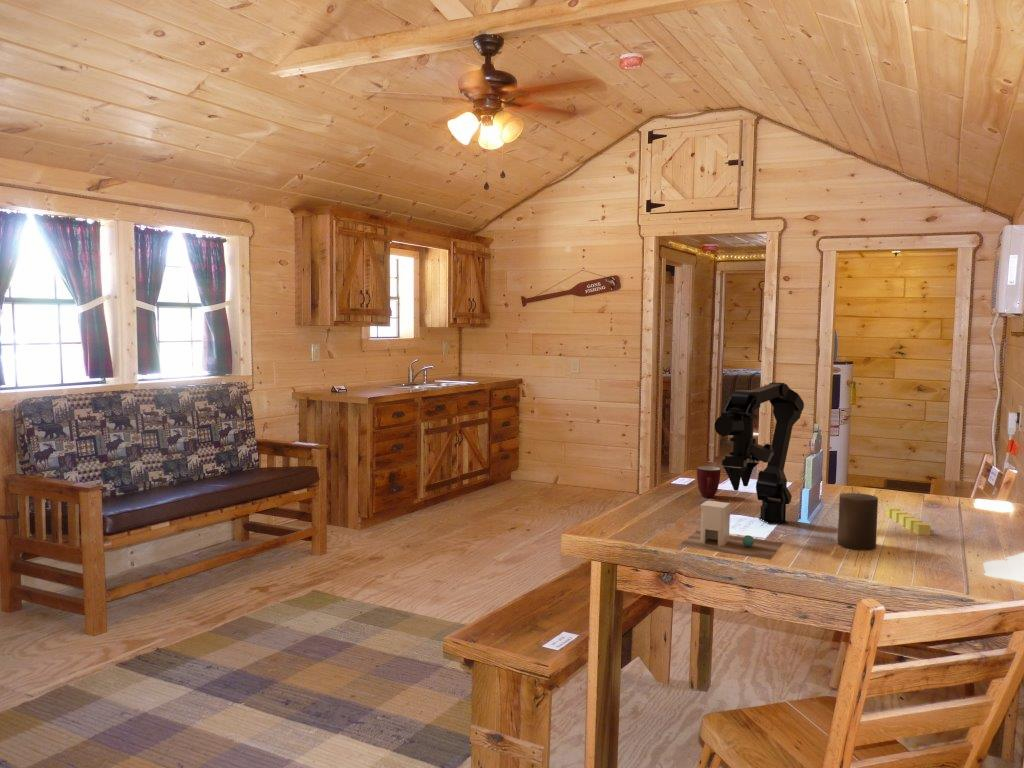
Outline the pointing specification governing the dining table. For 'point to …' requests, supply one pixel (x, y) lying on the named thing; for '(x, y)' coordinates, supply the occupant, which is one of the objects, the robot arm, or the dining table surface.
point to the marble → (748, 541)
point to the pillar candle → (857, 521)
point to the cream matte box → (715, 521)
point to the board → (734, 546)
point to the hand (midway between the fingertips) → (740, 488)
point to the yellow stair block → (908, 521)
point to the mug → (708, 480)
